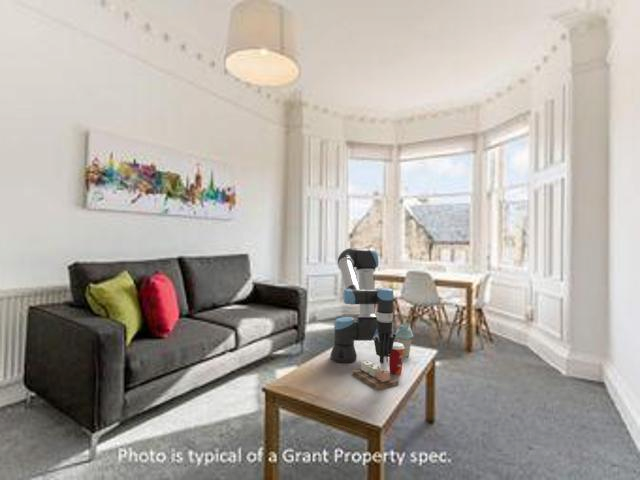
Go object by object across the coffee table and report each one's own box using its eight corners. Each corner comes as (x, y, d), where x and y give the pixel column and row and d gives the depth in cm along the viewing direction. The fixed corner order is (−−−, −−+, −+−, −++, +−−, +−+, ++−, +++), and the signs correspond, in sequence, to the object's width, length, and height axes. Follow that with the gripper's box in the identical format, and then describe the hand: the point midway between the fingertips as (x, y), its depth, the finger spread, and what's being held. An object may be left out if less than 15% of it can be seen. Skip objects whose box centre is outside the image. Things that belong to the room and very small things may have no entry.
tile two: (368, 373, 175) (368, 365, 175) (375, 372, 177) (375, 364, 177) (374, 377, 171) (374, 368, 171) (381, 375, 173) (381, 367, 173)
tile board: (352, 374, 180) (352, 370, 180) (372, 369, 186) (372, 366, 186) (377, 390, 162) (377, 385, 162) (398, 384, 169) (398, 380, 169)
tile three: (376, 378, 170) (376, 370, 170) (383, 376, 172) (383, 368, 172) (382, 382, 166) (382, 373, 166) (389, 380, 168) (389, 371, 168)
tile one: (361, 369, 180) (361, 361, 180) (368, 368, 183) (368, 360, 183) (366, 372, 177) (366, 364, 177) (373, 371, 179) (373, 363, 179)
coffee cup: (403, 376, 179) (404, 347, 178) (387, 374, 180) (388, 345, 180) (403, 370, 187) (404, 342, 187) (387, 368, 189) (388, 341, 188)
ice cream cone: (395, 351, 217) (396, 319, 217) (413, 353, 213) (414, 321, 213) (392, 356, 208) (393, 322, 207) (412, 359, 204) (413, 325, 204)
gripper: (379, 324, 162) (377, 374, 162) (400, 321, 168) (398, 369, 169) (369, 320, 168) (367, 369, 169) (389, 317, 175) (388, 364, 175)
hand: (383, 369), depth 169 cm, fingers closed
